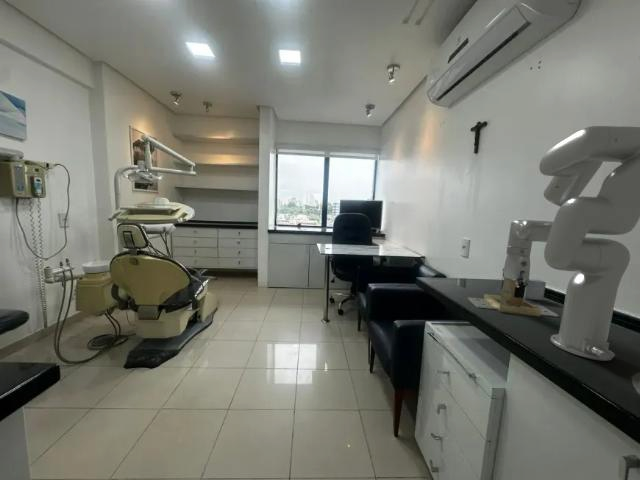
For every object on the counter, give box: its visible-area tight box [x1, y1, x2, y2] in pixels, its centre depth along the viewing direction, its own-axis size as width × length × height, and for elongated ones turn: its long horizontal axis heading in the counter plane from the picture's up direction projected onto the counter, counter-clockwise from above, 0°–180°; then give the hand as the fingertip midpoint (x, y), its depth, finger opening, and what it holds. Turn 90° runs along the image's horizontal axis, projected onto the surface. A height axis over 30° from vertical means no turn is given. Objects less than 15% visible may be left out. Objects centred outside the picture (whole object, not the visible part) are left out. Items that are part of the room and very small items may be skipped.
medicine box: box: [523, 278, 547, 301], centre depth 121 cm, size 8×4×9 cm, turn 84°
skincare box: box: [499, 277, 524, 307], centre depth 106 cm, size 6×4×12 cm
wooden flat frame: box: [467, 293, 559, 318], centre depth 107 cm, size 14×28×2 cm, turn 79°
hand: (511, 293), depth 106 cm, fingers open, 9 cm apart
